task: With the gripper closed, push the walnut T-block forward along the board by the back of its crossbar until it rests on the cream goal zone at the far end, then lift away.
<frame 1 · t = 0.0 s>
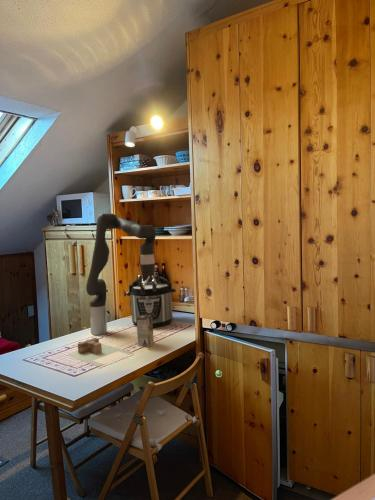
hand: (148, 292, 204), 29 cm above the table, fingers open, 8 cm apart
t block: (93, 351, 198), point 1 cm above the table, touching board
pressure cooker: (152, 323, 253), on the table
coffee box: (145, 345, 209), on the table
board: (100, 355, 194), on the table
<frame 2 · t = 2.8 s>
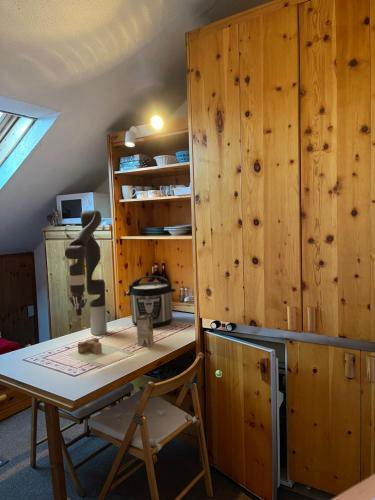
hand: (79, 315, 204), 19 cm above the table, fingers closed
nothing on the table moved.
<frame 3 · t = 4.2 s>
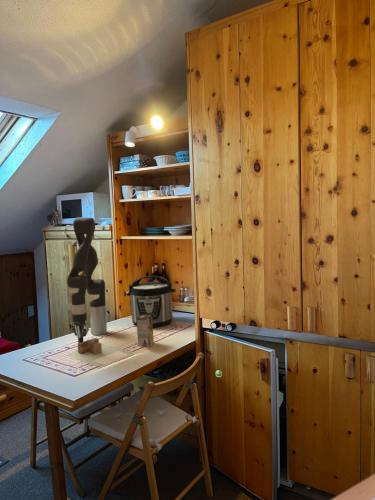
hand: (80, 344, 204), 3 cm above the table, fingers closed
nothing on the table moved.
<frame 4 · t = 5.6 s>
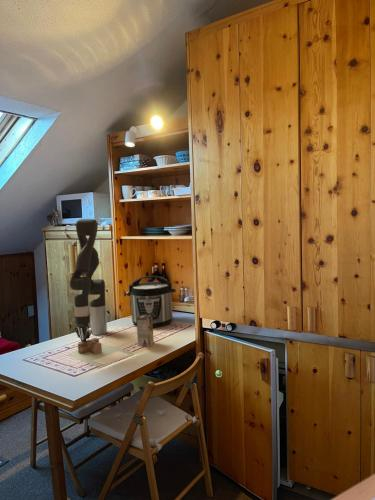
hand: (84, 346, 203), 3 cm above the table, fingers closed
t block: (93, 351, 198), point 1 cm above the table, touching gripper
everything else where it was.
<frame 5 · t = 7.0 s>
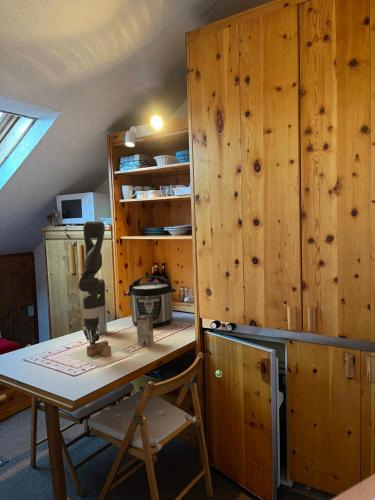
hand: (93, 348, 198), 3 cm above the table, fingers closed
t block: (102, 354, 193), point 1 cm above the table, touching board, gripper
everything else where it was.
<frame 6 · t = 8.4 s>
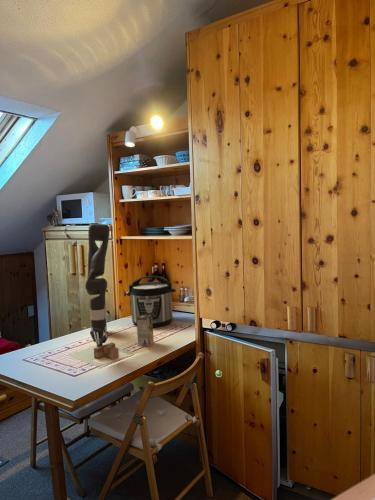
hand: (100, 350, 194), 3 cm above the table, fingers closed
t block: (110, 357, 189), point 1 cm above the table, touching board, gripper
everything else where it was.
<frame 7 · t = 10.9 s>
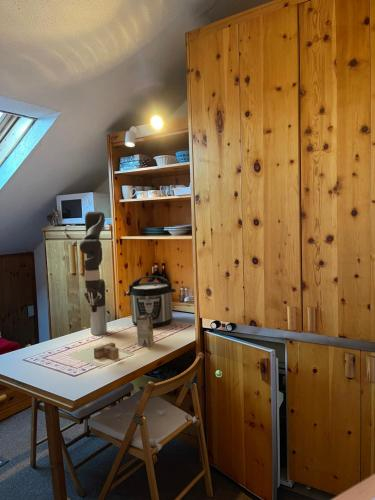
hand: (94, 311, 196), 22 cm above the table, fingers closed
t block: (110, 357, 189), point 1 cm above the table, touching board
everything else where it was.
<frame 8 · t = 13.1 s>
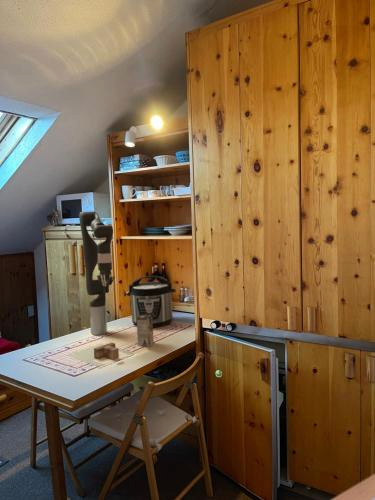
hand: (106, 292, 211), 29 cm above the table, fingers closed
nothing on the table moved.
at the end: t block inside the target area on the board (1.1 cm from its centre), point 1.0 cm above the board's base; t block tilted 0° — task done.
